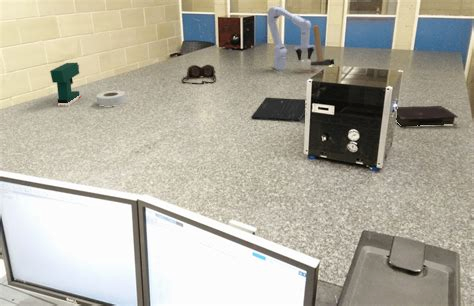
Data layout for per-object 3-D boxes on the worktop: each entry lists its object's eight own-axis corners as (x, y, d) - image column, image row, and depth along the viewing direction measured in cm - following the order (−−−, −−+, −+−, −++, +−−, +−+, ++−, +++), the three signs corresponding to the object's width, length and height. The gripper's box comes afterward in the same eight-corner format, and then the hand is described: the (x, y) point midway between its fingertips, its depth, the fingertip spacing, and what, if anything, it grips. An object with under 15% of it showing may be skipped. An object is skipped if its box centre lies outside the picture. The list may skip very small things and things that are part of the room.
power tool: (78, 91, 255) (72, 59, 247) (89, 91, 255) (83, 59, 247) (56, 106, 226) (48, 71, 218) (68, 106, 226) (61, 70, 218)
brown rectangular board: (295, 70, 290) (295, 64, 289) (309, 68, 295) (309, 62, 293) (308, 75, 275) (309, 69, 273) (323, 73, 279) (324, 67, 278)
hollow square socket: (300, 68, 290) (301, 60, 287) (306, 67, 292) (306, 59, 289) (304, 69, 286) (304, 61, 283) (310, 69, 287) (310, 60, 285)
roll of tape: (99, 109, 219) (97, 99, 217) (96, 102, 232) (94, 92, 230) (128, 105, 225) (127, 95, 222) (124, 98, 238) (122, 89, 236)
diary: (387, 115, 197) (388, 105, 195) (438, 114, 196) (440, 104, 194) (400, 128, 180) (401, 118, 178) (456, 127, 179) (459, 117, 177)
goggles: (183, 86, 259) (182, 70, 255) (178, 78, 280) (177, 64, 276) (220, 83, 265) (220, 68, 261) (212, 76, 286) (212, 62, 282)
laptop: (265, 100, 226) (265, 66, 218) (333, 104, 215) (336, 68, 207) (250, 119, 197) (249, 80, 189) (328, 125, 186) (331, 84, 179)
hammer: (307, 69, 301) (301, 29, 290) (307, 68, 306) (301, 28, 295) (334, 65, 296) (329, 23, 285) (334, 63, 301) (329, 22, 290)
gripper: (298, 41, 267) (298, 61, 272) (317, 39, 271) (316, 59, 277) (293, 39, 273) (292, 59, 278) (311, 37, 277) (310, 57, 283)
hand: (304, 59), depth 278 cm, fingers open, 7 cm apart
